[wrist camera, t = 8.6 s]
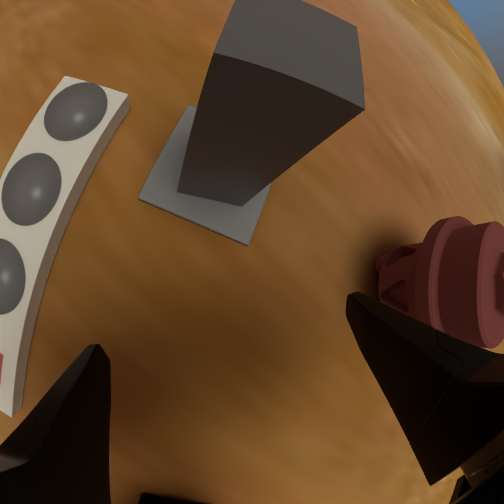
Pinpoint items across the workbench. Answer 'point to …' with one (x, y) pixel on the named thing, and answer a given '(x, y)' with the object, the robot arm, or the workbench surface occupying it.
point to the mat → (191, 207)
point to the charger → (270, 97)
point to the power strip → (45, 209)
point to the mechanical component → (450, 280)
